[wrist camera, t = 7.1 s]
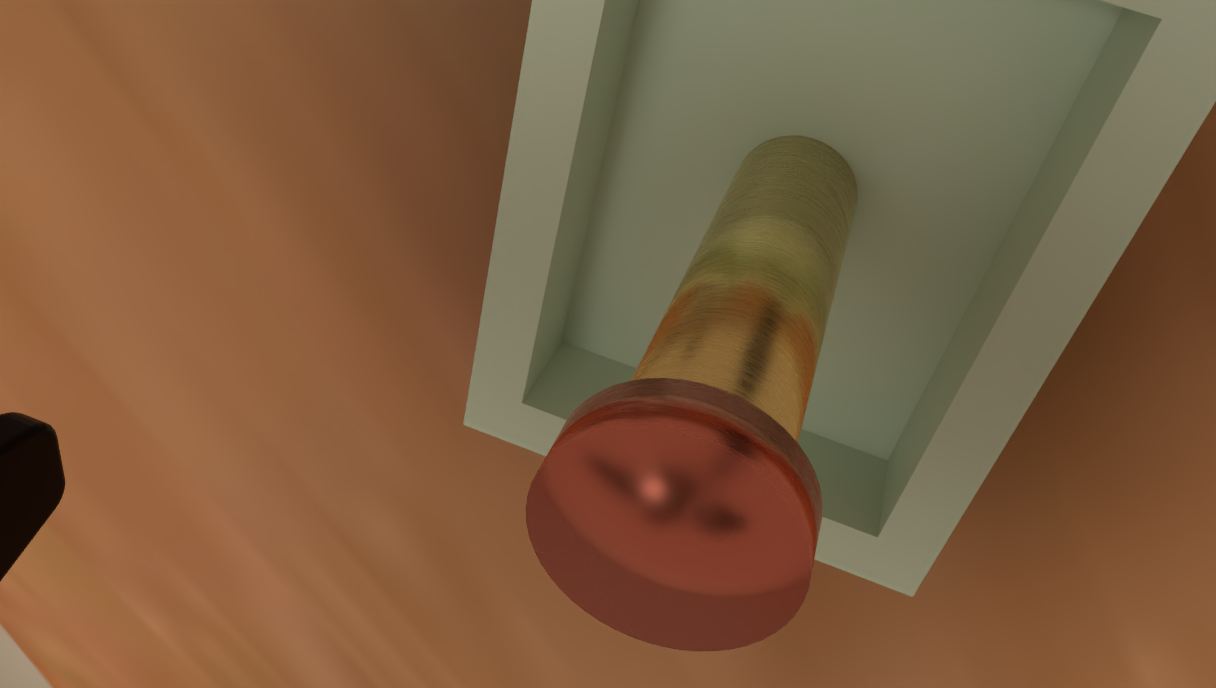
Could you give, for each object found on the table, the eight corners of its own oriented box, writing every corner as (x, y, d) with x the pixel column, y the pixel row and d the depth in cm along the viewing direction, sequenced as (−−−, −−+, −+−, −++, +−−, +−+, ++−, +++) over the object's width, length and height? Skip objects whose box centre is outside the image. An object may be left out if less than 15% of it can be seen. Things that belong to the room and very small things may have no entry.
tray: (1255, -87, 15) (1304, -43, 13) (920, 502, 23) (912, 597, 21) (632, -263, 17) (573, -253, 14) (514, 351, 25) (463, 424, 22)
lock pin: (912, 143, 18) (855, 499, 10) (848, 293, 20) (759, 688, 12) (736, 85, 19) (552, 386, 11) (690, 239, 21) (506, 587, 13)
